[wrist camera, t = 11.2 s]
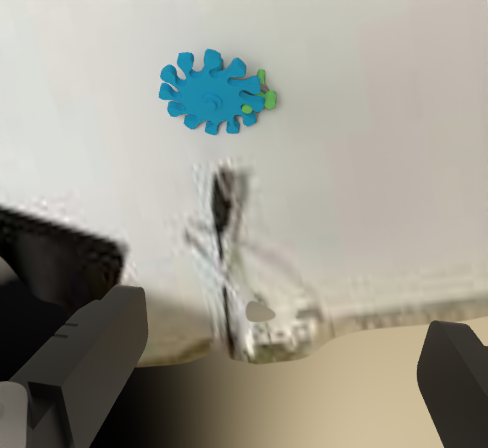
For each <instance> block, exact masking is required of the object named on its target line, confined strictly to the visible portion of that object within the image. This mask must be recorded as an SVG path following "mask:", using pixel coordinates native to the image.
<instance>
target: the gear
mask: <svg viewBox="0 0 488 448" xmlns="http://www.w3.org/2000/svg"><path fill="white" fill-rule="evenodd" d="M193 62H194V56H193V54H192V53H189V52H185V53H179V56H178V60H177V64H178V66H179V67H180V68H181V69H182V70H183V72H184V73H185V75H186V79H185V80H182V79H180V78H178V76H177V72H176V69H175V67H174V66H172V65H167V66H165V67H164V68H163V69H162V71H161V75H160V77H161V79H162V80H163V81H165V82H167V83H170V84H172V85H173V86H175V87H176V88H177V89H178V90H179V91H180V92H176V91H174V90H173V88H172V87H171V86H170V85H169V84H166V83H162V84H161V87H160V92H159V98H160V99H163V100H173V101H170V102H169V103H168V108H167V110H168V112H169V114H170V116H172V117H177V116H179V115H182V114H191V115H186V116H185V120H184V124H185V125H186V126H187V127H188V128H190V129H195V128H196V126H197V125H198V124H199V123H201V122H203V121H210V122H207V123H206V128H205V132H206V133H209V134H212V135H216V134H217V131H218V124H219V123H220V122H221V121H228V122H227V128H226V131H227V133H238V131H239V123H238V122H237V121H236V120H235V118H234V116H235V115H241V116H242V117H243V123H244V125H246V126H250V125H253V124H254V123H256V114H255V113H254V112H252V110H253V111H255V112H260V111H261V110H262V109H263V107H264V102H265V107H266V108H267V109H273V108H275V106H276V92H274V91H271V90H270V91H268V88H267V86H266V85H264V78H265V71H264V70H262V69H260V70H258V74H257V76H253V77H251V78H249V79H245V80H235V79H231V78H230V77H237V78H240V77H243V76H244V75H245V74H246V65H245V64H244V62H243V61H242V60H240V59H239V58H235V59H234V60H233V61H232V63H231V64H230V66H229V67H228V68H226V69H224V70H222V63H223V60H222V58H221V54H220V53H219V52H217V51H214V50H211V49H207V50H206V52H205V56H204V64H205V66H204V68H203V69H202V70H201V71H200V72H195V71H193V70H192V67H193ZM174 101H176V102H174ZM177 102H179V103H181V104H183V105H181V104H179V103H177Z"/></svg>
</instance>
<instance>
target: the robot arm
mask: <svg viewBox="0 0 488 448" xmlns="http://www.w3.org/2000/svg"><path fill="white" fill-rule="evenodd" d="M147 338H148V322H147V311H146V300H145V292H144V289H143V288H142V287H133V286H124V285H115V286H114V287H113V288H112V289H111V290H110V291H109V292H108V293H107V294H106V295H105V296H104V297H103V299H102V300H94V301H93V302H91V303H89V304H87V305H86V306H84V307H82V308H81V309H79V310H77V311H76V312H75V314H74V315H73V316H72V317H71V318H70V319H69V320H68V321H67V322H66V323H65V326H62V327H61V328H60V329H59V330H58V331H57V332H56V333H55V336H54V337H51V338H50V339H49V340H48V341H47V342H46V343H45V344H44V345H43V346H42V347H41V348H40V349H39V350H38V351H37V352H36V354H34V356H33V357H32V358H31V359H30V360H29V361H28V362H27V363H26V364H25V365H24V366H23V367H22V368H21V369H20V370H19V371H18V372H17V373H16V374H15V375H14V376H13V377H12V378H11V379H10V380H9V381H8V382H0V448H89V446H90V444H91V442H92V441H93V439H94V437H95V436H96V434H97V432H98V430H99V429H100V427H101V425H102V423H103V422H104V420H105V418H106V416H107V415H108V413H109V411H110V409H111V408H112V406H113V404H114V402H115V401H116V399H117V397H118V395H119V393H120V392H121V390H122V388H123V386H124V385H125V383H126V381H127V379H128V378H129V376H130V374H131V373H132V371H133V369H134V367H135V366H136V364H137V362H138V360H139V359H140V357H141V355H142V353H143V351H144V349H145V346H146V343H147ZM417 382H418V386H419V389H420V392H421V394H422V397H423V399H424V401H425V404H426V406H427V408H428V411H429V413H430V415H431V418H432V420H433V422H434V425H435V427H436V429H437V432H438V434H439V436H440V439H441V441H442V443H443V446H444V448H488V346H484V345H483V344H482V342H481V341H480V340H479V338H478V337H477V336H476V334H475V333H474V332H473V330H472V329H471V328H470V327H469V326H468V325H466V324H463V323H454V322H445V321H433V322H431V324H430V326H429V329H428V332H427V335H426V338H425V342H424V345H423V348H422V351H421V355H420V358H419V361H418V365H417Z"/></svg>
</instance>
